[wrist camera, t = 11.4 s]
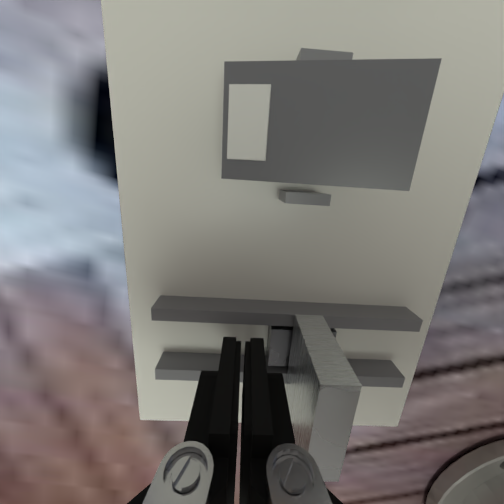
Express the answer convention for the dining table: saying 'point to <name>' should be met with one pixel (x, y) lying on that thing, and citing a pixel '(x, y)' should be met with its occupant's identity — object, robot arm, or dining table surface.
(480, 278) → the dining table surface
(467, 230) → the dining table surface
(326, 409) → the grey slider handle
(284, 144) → the rocker switch
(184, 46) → the switch panel
